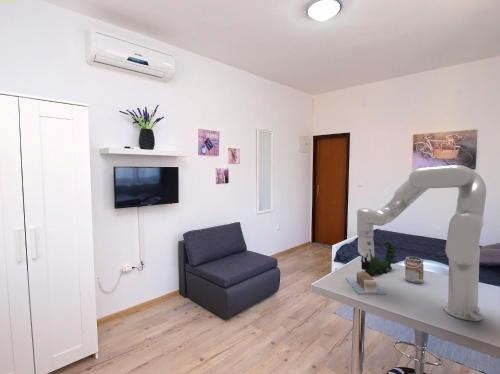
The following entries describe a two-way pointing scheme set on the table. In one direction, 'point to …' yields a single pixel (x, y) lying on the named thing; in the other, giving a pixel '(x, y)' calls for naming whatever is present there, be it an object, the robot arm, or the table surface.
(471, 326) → the table surface
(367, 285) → the brown tall block
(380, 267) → the toy figurine
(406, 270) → the beverage can
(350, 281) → the rubber mat
